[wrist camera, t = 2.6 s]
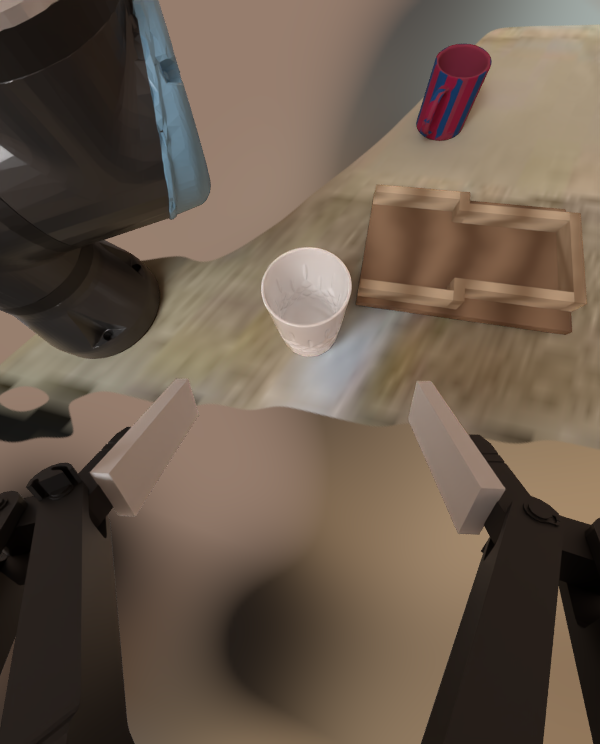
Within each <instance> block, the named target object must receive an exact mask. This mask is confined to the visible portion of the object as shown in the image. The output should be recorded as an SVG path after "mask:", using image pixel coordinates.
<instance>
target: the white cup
mask: <svg viewBox="0 0 600 744" xmlns="http://www.w3.org/2000/svg"><path fill="white" fill-rule="evenodd" d="M351 290H352V281H351V276H350V273H349V271H348V269H347V267H346V266H345V264H344V263H343V262H342V261H341V260H340V259H339V258H338V257H337V256H336V255H334V254H333V253H331V252H329V251H326V250H324V249H320V248H315V247H302V248H296V249H293V250H290V251H288V252H285V253H284V254H282V255H280V256H279V257H277V258H276V259H275V260H274V261H273V262H272V263H271V264H270V265H269V267H268V268H267V270H266V272H265V274H264V276H263V279H262V284H261V294H262V299H263V302H264V304H265V306H266V308H267V310H268V312H269V314H270V316H271V318H272V320H273V322H274V324H275V326H276V328H277V330H278V331H279V333H280V335H281V336H282V338H283V339H284V341H285V343H286V345H287V346H288V347H289V348H290V349H291V350H292V351H293V352H294V353H297V354H299V355H302V356H305V357H309V356H319V355H320V354H322V353H324V352H326V351H328V350H329V349H330V347H331V346H332V345H333V343H334V342H335V341H336V338H337V334H338V332H339V330H340V327H341V324H342V322H343V319H344V315H345V312H346V308H347V305H348V302H349V298H350V295H351Z"/></svg>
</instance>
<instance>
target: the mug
mask: <svg viewBox="0 0 600 744" xmlns="http://www.w3.org/2000/svg"><path fill="white" fill-rule="evenodd" d="M490 66H491V57H490V55H489V54H488V53H487V51H485V50H484V49H482V48H481V47H478V46H476V45H471V44H456V45H452V46H449V47H447V48H445V49H443V50H442V51H441V52H440V53H439V54H438V55H437V57H436V60H435V63H434V66H433V70H432V73H431V76H430V79H429V83H428V86H427V89H426V92H425V96H424V99H423V102H422V105H421V109H420V112H419V115H418V118H417V123H416V125H417V129H418V131H419V132H420V133H421V134H422V135H423V136H424V137H426V138H429V139H432V140H439V141H440V140H448V139H451V138H453V137H455V136H456V135H457V134H458V133H459V132H460V131H461V129H462V127H463V125H464V123H465V121H466V119H467V116H468V114H469V112H470V110H471V108H472V106H473V103H474V101H475V99H476V97H477V95H478V93H479V90H480V88H481V86H482V84H483V82H484V80H485V77H486V75H487V73H488V71H489V69H490Z"/></svg>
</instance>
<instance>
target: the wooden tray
mask: <svg viewBox="0 0 600 744" xmlns="http://www.w3.org/2000/svg"><path fill="white" fill-rule="evenodd" d="M586 304H587V298H586V284H585V269H584V255H583V240H582V226H581V213H571V212H566V210H565V209H554V208H543V207H532V206H521V205H510V204H499V203H487V202H476V201H470V192H458V191H447V190H435V189H424V188H412V187H400V186H389V185H376V190H375V193H374V197H373V203H372V209H371V215H370V222H369V228H368V234H367V240H366V246H365V252H364V258H363V264H362V270H361V276H360V282H359V288H358V294H357V300H356V305H360V306H367V307H374V308H381V309H388V310H395V311H402V312H409V313H416V314H423V315H430V316H437V317H444V318H451V319H458V320H466V321H473V322H480V323H487V324H494V325H501V326H508V327H515V328H522V329H529V330H536V331H543V332H550V333H557V334H564V335H566V334H568V333H571V332H572V321H571V312H572V311H574V310H576V309H578V308H580V307H582V306H584V305H586Z"/></svg>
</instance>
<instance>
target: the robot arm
mask: <svg viewBox="0 0 600 744" xmlns="http://www.w3.org/2000/svg"><path fill="white" fill-rule="evenodd" d="M210 187H211V184H210V178H209V173H208V169H207V165H206V161H205V157H204V154H203V150H202V146H201V143H200V139H199V136H198V132H197V129H196V125H195V122H194V118H193V115H192V111H191V108H190V104H189V102H188V98H187V95H186V91H185V88H184V85H183V82H182V80H181V77H180V71H179V68H178V65H177V62H176V58H175V55H174V52H173V47H172V43H171V40H170V37H169V33H168V30H167V27H166V23H165V21H164V17H163V14H162V11H161V7H160V4H159V1H158V0H0V310H1V311H4V312H6V313H9V314H11V315H13V316H14V317H16V318H17V319H18V320H20V321H21V322H22V323H24V324H25V325H26V326H28V327H29V328H30V329H31V330H33V331H34V332H35V333H36V334H38V335H39V336H40V337H42V338H43V339H44V340H45V341H47V342H48V343H49V344H51V345H52V346H54V347H56V348H57V349H59V350H62V351H64V352H67V353H70V354H73V355H76V356H79V357H82V358H89V359H97V358H105V357H109V356H112V355H115V354H117V353H120V352H122V351H124V350H125V349H127V348H129V347H130V346H132V345H133V344H134V343H135V342H137V341H138V340H139V339H140V338H141V337H142V336H143V335H144V334H145V332H146V331H147V330H148V329H149V327H150V326H151V324H152V322H153V320H154V318H155V316H156V313H157V310H158V306H159V299H160V294H159V287H158V283H157V281H156V278H155V277H154V275H153V274H152V272H151V271H150V270H149V269H148V268H147V267H146V266H145V265H144V264H143V263H142V262H141V261H140V260H139V259H138V258H136V257H135V256H134V255H132V254H131V253H129V252H127V251H125V250H123V249H121V248H119V247H117V246H115V245H113V244H111V243H109V242H107V241H105V239H108V238H111V237H114V236H117V235H120V234H123V233H125V232H129V231H132V230H135V229H137V228H141V227H144V226H147V225H150V224H152V223H155V222H159V221H161V220H165V219H168V218H169V219H171V220H172V219H174V218H175V217H176V216H177V214H180V213H182V212H184V211H187V210H189V209H192V208H194V207H197V206H199V205H201V204H203V203H204V202H205V201H206V200H207V198H208V195H209V193H210ZM198 416H199V413H198V409H197V406H196V403H195V399H194V396H193V393H192V389H191V386H190V383H189V379H175V380H174V381H173V382H172V383H171V385H170V386H169V387H168V388H167V389H166V390H165V391H164V392H163V393H162V394H161V395H160V397H159V398H158V399H157V400H156V401H155V402H154V403H153V404H152V405H151V407H149V409H148V410H147V411H146V412H145V413H144V414H143V415H142V416H141V417H140V418H139V419H138V420H137V422H136V423H135V424H134V425H133V426H132V427H126V428H125V429H123V430H122V431H121V432H119V433H117V434H116V435H115V436H114V437H113V438H112V439H111V440H110V441H109V442H108V444H106V445H105V446H104V447H103V449H102V451H100V452H99V453H98V454H97V455H96V456H95V457H94V458H93V459H92V460H91V461H90V462H89V463H88V464H87V465H86V466H85V467H84V468H83V469H82V471H81V472H79V473H77V472H76V470H75V469H74V468H73V466H72V465H71V464H69V463H59V464H56V465H52V466H50V467H48V468H46V469H44V470H42V471H41V472H39V473H38V474H37V475H35V476H34V477H33V478H32V479H31V480H30V481H29V483H28V484H27V486H26V487H27V489H28V490H29V491H30V492H31V493H32V494H33V495H34V496H32V497H27V498H23V497H22V496H21V495H20V494H19V493H18V492H15V491H9V492H4V493H1V494H0V554H1V552H2V551H3V552H4V553H3V555H2V557H1V558H0V674H1V672H2V669H3V667H4V664H5V661H6V659H7V657H8V654H9V651H10V649H11V646H12V644H13V641H14V639H15V636H16V639H15V644H14V650H13V656H12V663H11V668H10V674H9V680H8V686H7V692H6V698H5V704H4V709H3V715H2V721H1V727H0V744H134V741H133V739H132V736H131V734H130V731H129V728H128V723H127V714H126V702H125V691H124V679H123V667H122V656H121V645H120V632H119V620H118V608H117V597H116V585H115V574H114V563H113V550H112V538H111V526H110V519H109V517H108V513H109V512H110V511H111V509H112V508H114V510H115V511H116V513H117V514H118V515H119V516H136V515H137V513H138V512H139V510H140V508H141V507H142V505H143V504H144V502H145V500H146V499H147V497H148V496H149V494H150V492H151V491H152V489H153V488H154V486H155V484H156V483H157V481H158V480H159V478H160V476H161V475H162V473H163V472H164V470H165V468H166V467H167V465H168V464H169V462H170V460H171V459H172V457H173V456H174V454H175V452H176V451H177V449H178V448H179V446H180V444H181V443H182V441H183V440H184V438H185V437H186V435H187V433H188V432H189V430H190V429H191V427H192V425H193V424H194V422H195V421H196V419H197V417H198ZM408 421H409V423H410V425H411V427H412V430H413V432H414V434H415V436H416V438H417V441H418V443H419V446H420V448H421V450H422V452H423V454H424V457H425V459H426V462H427V464H428V466H429V468H430V471H431V473H432V475H433V478H434V480H435V482H436V484H437V487H438V489H439V491H440V493H441V496H442V498H443V500H444V503H445V505H446V507H447V509H448V512H449V514H450V516H451V519H452V521H453V523H454V525H455V528H456V530H457V532H458V533H459V534H480V532H481V530H482V529H483V527H484V526H485V528H486V530H487V532H488V534H489V536H490V538H489V539H488V541H487V542H486V544H485V545H484V547H483V549H482V550H481V552H483V556H482V559H481V562H480V565H479V568H478V571H477V574H476V577H475V580H474V583H473V586H472V589H471V592H470V595H469V598H468V601H467V604H466V608H465V611H464V614H463V617H462V620H461V623H460V626H459V629H458V632H457V635H456V638H455V641H454V644H453V647H452V650H451V654H450V656H449V660H448V662H447V666H446V669H445V672H444V675H443V678H442V681H441V684H440V687H439V690H438V693H437V696H436V699H435V702H434V705H433V709H432V711H431V715H430V717H429V721H428V724H427V727H426V730H425V733H424V736H423V739H422V742H421V744H543V736H544V726H545V717H546V707H547V696H548V687H549V677H550V666H551V656H552V646H553V635H554V626H555V616H556V606H557V596H558V586H559V589H560V593H561V598H562V603H563V607H564V612H565V616H566V621H567V625H568V630H569V634H570V639H571V644H572V648H573V653H574V658H575V662H576V667H577V671H578V676H579V680H580V685H581V689H582V694H583V698H584V703H585V708H586V712H587V717H588V721H589V726H590V731H591V735H592V740H593V744H600V518H598V519H597V520H596V521H595V522H594V523H593V524H592V525H589V524H586V523H583V522H579V521H576V520H572V519H569V518H566V517H563V516H560V515H559V514H558V513H557V512H556V511H555V510H554V509H553V508H552V507H551V506H550V505H548V504H546V503H545V502H543V501H542V500H540V499H537V498H535V497H532V496H530V495H529V493H528V492H527V491H526V489H525V488H524V487H523V485H522V484H521V483H520V481H519V480H518V479H517V478H516V476H515V475H514V474H513V472H512V471H511V470H510V469H509V467H508V466H507V465H506V464H505V463H504V461H503V459H502V458H501V457H500V456H499V455H498V453H497V451H496V450H495V449H494V447H493V446H492V445H491V443H489V442H488V441H487V440H485V439H484V438H483V437H481V436H480V435H468V434H467V432H466V431H465V429H464V428H463V426H462V425H461V424H460V422H459V421H458V419H457V418H456V416H455V415H454V413H453V412H452V410H451V409H450V408H449V406H448V405H447V403H446V402H445V400H444V399H443V397H442V396H441V394H440V393H439V392H438V390H437V389H436V387H435V386H434V384H433V383H432V381H417V382H416V386H415V391H414V395H413V399H412V404H411V408H410V412H409V417H408Z"/></svg>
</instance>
